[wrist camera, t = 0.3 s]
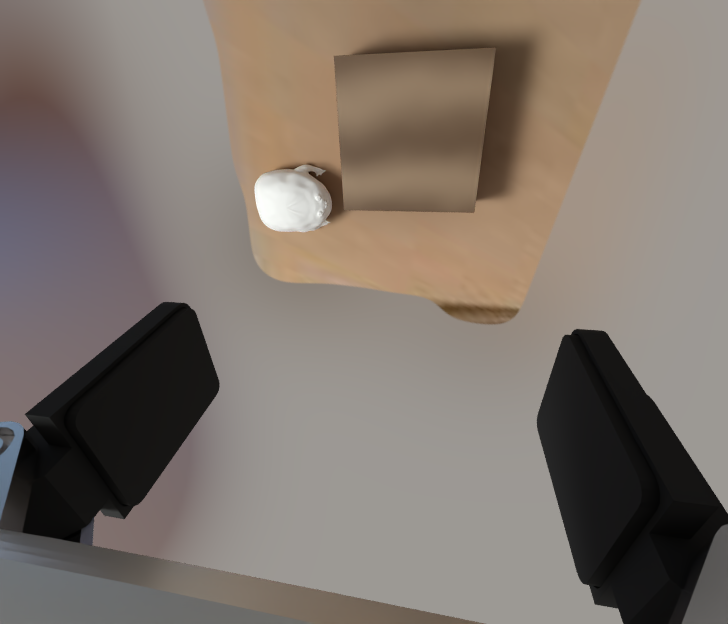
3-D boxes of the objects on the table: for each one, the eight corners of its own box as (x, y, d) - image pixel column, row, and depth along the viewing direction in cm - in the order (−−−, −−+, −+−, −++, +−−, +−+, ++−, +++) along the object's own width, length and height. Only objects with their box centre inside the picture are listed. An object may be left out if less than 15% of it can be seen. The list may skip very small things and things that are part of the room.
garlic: (332, 162, 36) (322, 170, 33) (338, 228, 40) (330, 241, 36) (257, 164, 37) (241, 172, 34) (270, 227, 41) (256, 240, 38)
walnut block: (345, 58, 31) (333, 55, 28) (489, 50, 29) (495, 47, 26) (352, 198, 38) (343, 210, 34) (471, 200, 36) (474, 212, 32)
